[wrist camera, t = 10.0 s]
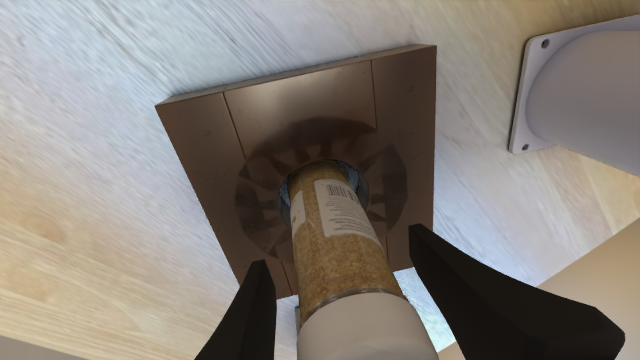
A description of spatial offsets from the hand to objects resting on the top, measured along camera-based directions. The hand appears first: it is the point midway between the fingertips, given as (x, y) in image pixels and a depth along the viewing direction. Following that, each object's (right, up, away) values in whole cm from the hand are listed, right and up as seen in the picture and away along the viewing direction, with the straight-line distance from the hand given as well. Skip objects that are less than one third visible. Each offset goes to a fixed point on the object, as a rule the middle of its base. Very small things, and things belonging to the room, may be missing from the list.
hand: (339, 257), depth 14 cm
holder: (-1, +3, +7) cm, 8 cm away
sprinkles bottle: (-1, +4, +7) cm, 8 cm away
